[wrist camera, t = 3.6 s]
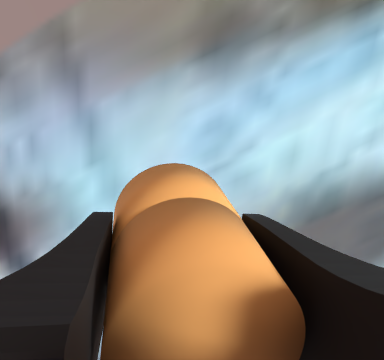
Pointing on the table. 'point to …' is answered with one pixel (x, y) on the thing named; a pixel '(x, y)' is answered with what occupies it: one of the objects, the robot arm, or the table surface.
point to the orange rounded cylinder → (192, 277)
